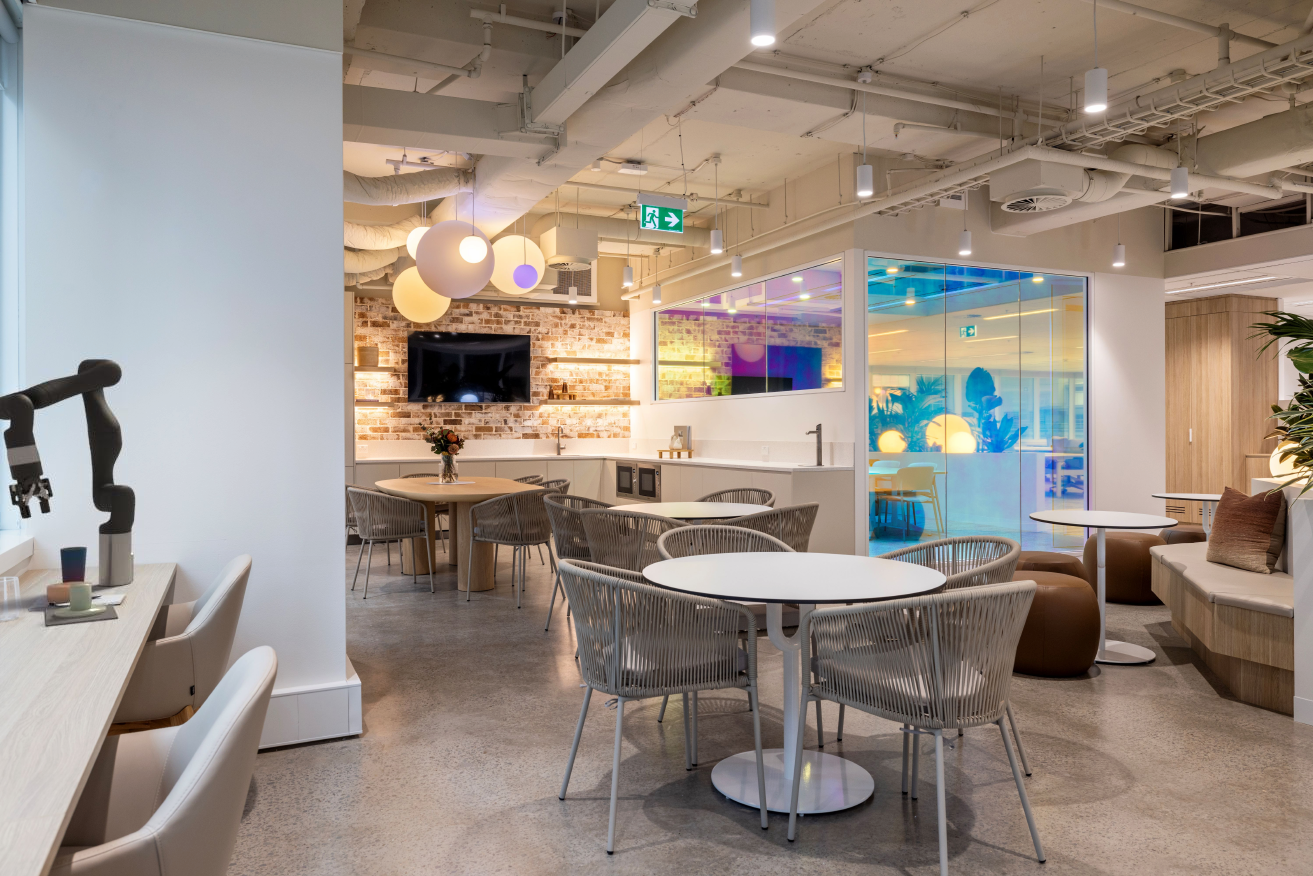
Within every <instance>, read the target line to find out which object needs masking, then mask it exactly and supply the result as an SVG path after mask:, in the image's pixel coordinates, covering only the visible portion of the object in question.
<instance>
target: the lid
mask: <svg viewBox="0 0 1313 876" xmlns="http://www.w3.org/2000/svg"><path fill="white" fill-rule="evenodd" d="M91 583H92V582H91ZM91 583H76V584H71V585H70V606H64V607H60V608H61V609H58V610H56V611H55V617H58V618H80V617H89V616H94V615H99V614H102V613H104V612H106V606H104V605H96V604H93V603H92V597H91Z"/></svg>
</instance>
